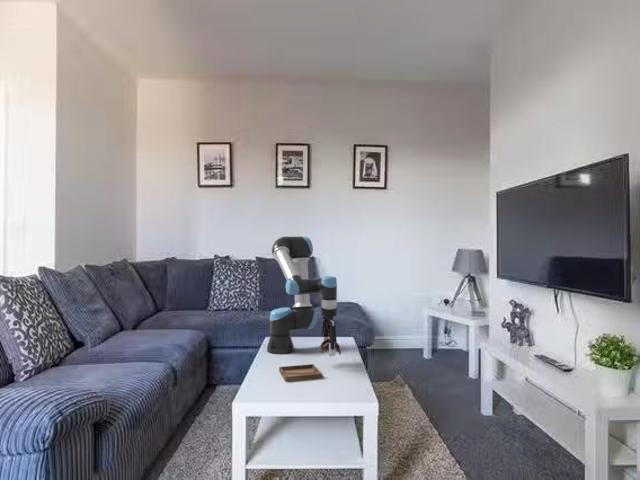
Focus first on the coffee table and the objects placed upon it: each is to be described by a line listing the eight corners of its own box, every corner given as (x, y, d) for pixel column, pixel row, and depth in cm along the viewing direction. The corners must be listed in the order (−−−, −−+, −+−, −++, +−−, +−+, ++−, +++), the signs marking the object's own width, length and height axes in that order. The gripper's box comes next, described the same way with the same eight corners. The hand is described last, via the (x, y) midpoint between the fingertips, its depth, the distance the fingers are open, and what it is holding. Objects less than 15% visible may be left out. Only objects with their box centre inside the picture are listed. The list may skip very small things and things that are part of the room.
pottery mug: (341, 357, 201) (333, 343, 199) (324, 364, 203) (316, 350, 202) (344, 344, 212) (336, 331, 211) (328, 351, 215) (320, 338, 213)
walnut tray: (279, 371, 197) (279, 366, 197) (313, 368, 201) (313, 364, 201) (285, 381, 182) (285, 377, 182) (321, 378, 186) (321, 373, 186)
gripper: (315, 304, 215) (315, 347, 215) (328, 312, 194) (328, 360, 194) (329, 303, 217) (329, 346, 217) (343, 311, 196) (343, 358, 196)
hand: (328, 352), depth 206 cm, fingers closed on pottery mug, 10 cm apart
